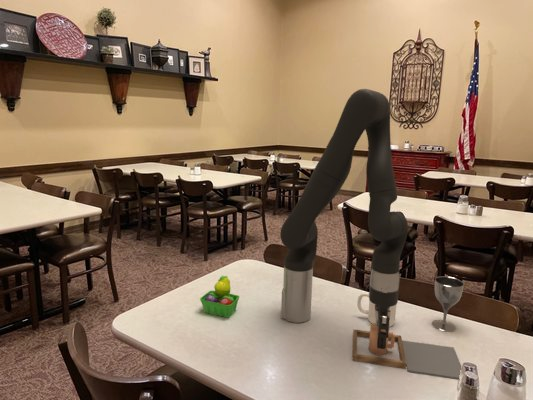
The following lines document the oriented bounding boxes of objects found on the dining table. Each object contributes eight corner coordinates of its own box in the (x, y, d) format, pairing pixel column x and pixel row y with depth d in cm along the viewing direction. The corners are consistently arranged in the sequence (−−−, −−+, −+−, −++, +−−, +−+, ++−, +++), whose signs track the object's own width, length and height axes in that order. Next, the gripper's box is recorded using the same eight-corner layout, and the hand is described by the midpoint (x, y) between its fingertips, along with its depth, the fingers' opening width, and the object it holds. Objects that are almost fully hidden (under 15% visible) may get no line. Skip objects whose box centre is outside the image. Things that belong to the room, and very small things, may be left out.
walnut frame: (352, 360, 104) (353, 355, 104) (353, 333, 117) (353, 329, 117) (406, 368, 101) (406, 363, 101) (400, 340, 114) (401, 335, 114)
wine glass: (456, 322, 125) (461, 278, 122) (459, 334, 118) (465, 288, 114) (429, 317, 127) (434, 274, 124) (430, 329, 120) (436, 284, 117)
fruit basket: (198, 313, 127) (198, 281, 125) (212, 302, 135) (212, 271, 133) (229, 320, 123) (229, 287, 121) (242, 308, 131) (242, 277, 129)
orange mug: (368, 353, 107) (370, 330, 106) (368, 343, 112) (370, 321, 110) (393, 357, 106) (396, 334, 104) (392, 347, 110) (394, 324, 109)
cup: (394, 330, 119) (397, 299, 117) (354, 322, 123) (356, 293, 121) (395, 317, 127) (397, 288, 125) (357, 310, 131) (359, 282, 129)
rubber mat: (407, 371, 100) (407, 369, 100) (401, 341, 113) (401, 340, 113) (466, 380, 97) (466, 378, 97) (453, 348, 110) (453, 347, 110)
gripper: (368, 273, 113) (365, 325, 116) (370, 294, 99) (367, 352, 102) (396, 276, 111) (391, 328, 114) (401, 298, 97) (396, 356, 101)
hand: (380, 339), depth 108 cm, fingers open, 8 cm apart
